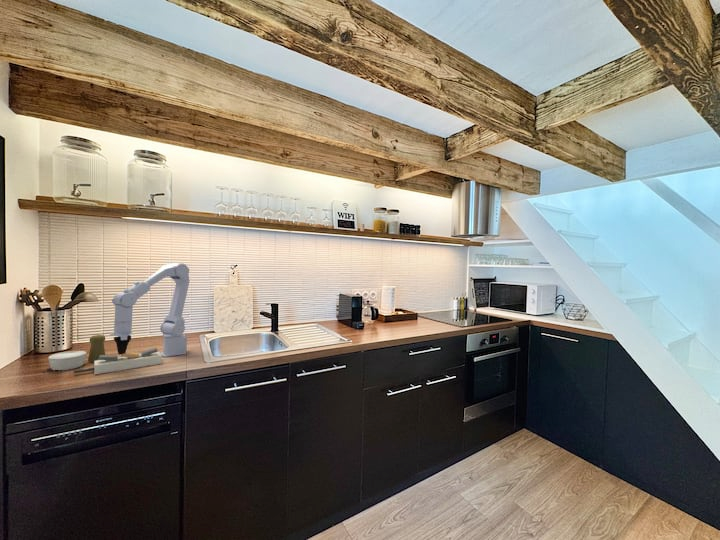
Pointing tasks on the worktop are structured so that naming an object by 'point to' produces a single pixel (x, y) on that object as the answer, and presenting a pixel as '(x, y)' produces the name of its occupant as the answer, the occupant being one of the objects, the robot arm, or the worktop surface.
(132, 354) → the rocker middle
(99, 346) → the olive-brown rounded piece
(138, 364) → the rocker switch panel
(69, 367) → the ramekin
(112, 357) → the block
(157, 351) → the block
